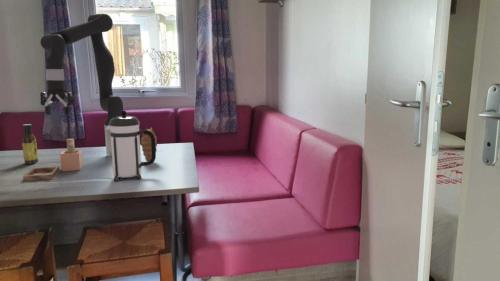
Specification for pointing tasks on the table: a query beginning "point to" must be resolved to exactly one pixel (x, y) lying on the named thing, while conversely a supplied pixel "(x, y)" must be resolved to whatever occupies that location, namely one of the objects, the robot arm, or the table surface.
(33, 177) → the tray
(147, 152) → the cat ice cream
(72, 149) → the dowel
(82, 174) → the table surface
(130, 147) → the coffee press
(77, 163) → the pink open box
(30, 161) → the sauce bottle
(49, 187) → the table surface
